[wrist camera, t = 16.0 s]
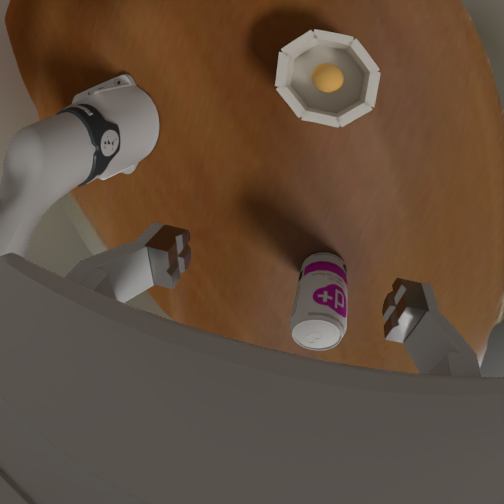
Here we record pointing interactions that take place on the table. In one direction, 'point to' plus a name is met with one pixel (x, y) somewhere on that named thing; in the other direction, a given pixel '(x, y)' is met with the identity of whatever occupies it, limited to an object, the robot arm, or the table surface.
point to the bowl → (318, 102)
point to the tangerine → (327, 78)
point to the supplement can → (320, 302)
